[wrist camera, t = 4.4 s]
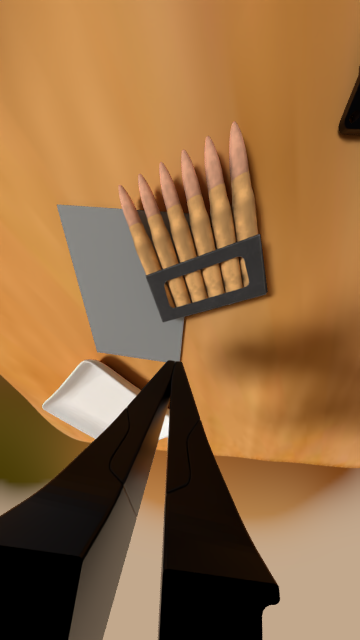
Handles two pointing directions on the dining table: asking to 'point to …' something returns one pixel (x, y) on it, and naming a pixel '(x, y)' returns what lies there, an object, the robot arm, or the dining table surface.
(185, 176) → the ammunition clip
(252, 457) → the dining table surface
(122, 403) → the salad plate
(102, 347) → the mat
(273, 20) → the dining table surface
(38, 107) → the dining table surface
